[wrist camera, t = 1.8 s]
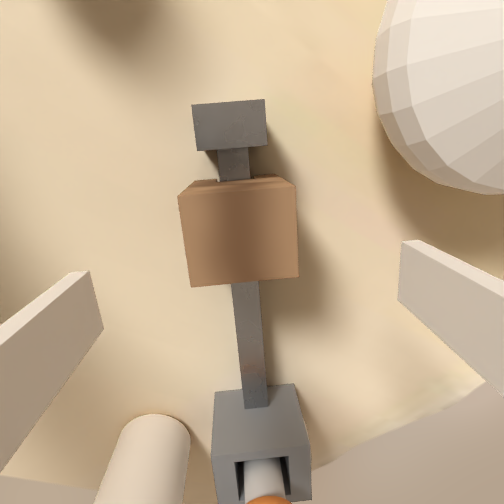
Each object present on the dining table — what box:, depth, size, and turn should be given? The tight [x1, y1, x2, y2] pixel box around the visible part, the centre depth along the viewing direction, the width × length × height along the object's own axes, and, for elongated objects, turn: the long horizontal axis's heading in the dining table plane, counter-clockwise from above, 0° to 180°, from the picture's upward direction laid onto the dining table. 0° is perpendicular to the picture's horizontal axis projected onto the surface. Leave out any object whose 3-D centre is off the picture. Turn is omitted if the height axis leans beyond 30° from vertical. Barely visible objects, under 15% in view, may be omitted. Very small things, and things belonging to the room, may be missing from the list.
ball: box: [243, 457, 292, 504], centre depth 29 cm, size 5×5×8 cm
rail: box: [191, 99, 268, 409], centre depth 29 cm, size 5×29×6 cm, turn 5°
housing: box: [211, 384, 312, 504], centre depth 34 cm, size 9×7×8 cm
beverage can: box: [93, 414, 191, 504], centre depth 32 cm, size 8×8×12 cm
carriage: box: [177, 174, 299, 287], centre depth 25 cm, size 7×6×10 cm
